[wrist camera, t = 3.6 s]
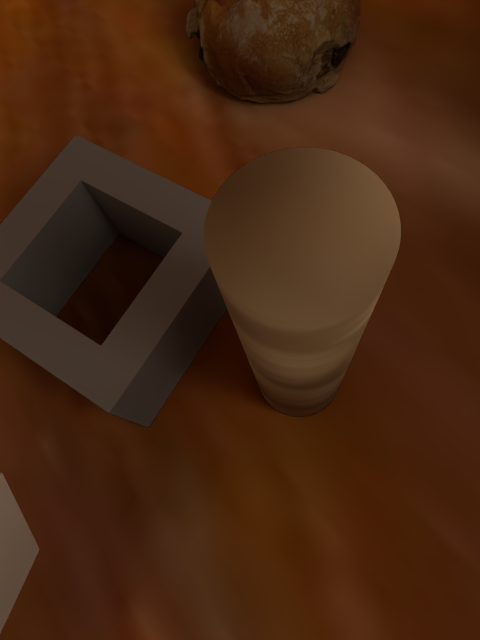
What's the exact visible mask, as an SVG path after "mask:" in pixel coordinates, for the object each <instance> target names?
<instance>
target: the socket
mask: <svg viewBox="0 0 480 640" xmlns="http://www.w3.org/2000/svg"><path fill="white" fill-rule="evenodd" d="M211 202H212V200H209V199H207V198H205V197H203V196H201V195H199V194H197V193H195V192H193V191H191V190H189V189H187V188H185V187H183V186H181V185H179V184H176V183H174V182H172V181H170V180H168V179H166V178H164V177H162V176H160V175H158V174H156V173H154V172H152V171H150V170H148V169H145V168H143V167H141V166H139V165H137V164H135V163H133V162H131V161H129V160H127V159H125V158H123V157H121V156H119V155H117V154H115V153H112V152H110V151H108V150H106V149H104V148H102V147H100V146H98V145H96V144H94V143H92V142H90V141H88V140H86V139H84V138H82V137H79V136H77V135H75V136H74V137H73V138H72V140H71V141H70V142H69V143H68V144H67V146H66V147H65V148H64V149H63V150H62V152H61V153H60V154H59V155H58V156H57V158H56V159H55V160H54V161H53V162H52V163H51V165H50V166H49V167H48V168H47V169H46V171H45V172H44V173H43V174H42V175H41V177H40V178H39V179H38V180H37V181H36V183H35V184H34V185H33V186H32V187H31V188H30V190H29V191H28V192H27V193H26V194H25V196H24V197H23V198H22V199H21V200H20V202H19V203H18V204H17V205H16V206H15V207H14V209H13V210H12V211H11V212H10V213H9V215H8V216H7V217H6V218H5V219H4V221H3V222H2V223H1V224H0V338H1V339H2V340H4V341H5V342H6V343H8V344H9V345H11V346H12V347H14V348H15V349H17V350H18V351H20V352H21V353H22V354H24V355H25V356H27V357H28V358H30V359H31V360H33V361H34V362H35V363H37V364H38V365H40V366H41V367H43V368H44V369H46V370H47V371H48V372H50V373H51V374H53V375H54V376H56V377H57V378H59V379H60V380H61V381H63V382H64V383H66V384H67V385H69V386H70V387H72V388H73V389H75V390H76V391H77V392H79V393H80V394H82V395H83V396H85V397H86V398H88V399H89V400H90V401H92V402H93V403H95V404H96V405H98V406H99V407H101V408H102V409H103V410H105V411H106V412H108V413H109V414H112V415H115V416H118V417H120V418H123V419H126V420H129V421H131V422H134V423H137V424H140V425H142V426H145V427H148V428H149V426H150V424H151V423H152V421H153V420H154V418H155V417H156V415H157V414H158V412H159V411H160V409H161V408H162V406H163V405H164V403H165V402H166V400H167V399H168V397H169V396H170V394H171V393H172V391H173V390H174V388H175V387H176V385H177V384H178V382H179V381H180V379H181V378H182V376H183V375H184V373H185V372H186V370H187V369H188V367H189V365H190V364H191V362H192V361H193V359H194V358H195V356H196V355H197V353H198V352H199V350H200V349H201V347H202V346H203V344H204V343H205V341H206V340H207V338H208V337H209V335H210V334H211V332H212V331H213V329H214V328H215V326H216V325H217V323H218V322H219V320H220V319H221V317H222V316H223V314H224V313H225V311H226V310H227V307H226V304H225V302H224V299H223V297H222V294H221V292H220V289H219V287H218V284H217V282H216V280H215V277H214V275H213V272H212V270H211V267H210V265H209V262H208V259H207V256H206V252H205V246H204V225H205V218H206V215H207V212H208V208H209V206H210V204H211ZM119 234H121V235H123V236H125V237H126V238H128V239H130V240H132V241H134V242H136V243H137V244H139V245H141V246H143V247H145V248H147V249H148V250H150V251H152V252H154V253H156V254H158V255H159V256H161V257H163V258H164V259H163V261H162V262H161V263H160V265H159V266H158V267H157V269H156V270H155V272H154V273H153V274H152V276H151V277H150V279H149V280H148V281H147V283H146V284H145V286H144V287H143V288H142V290H141V291H140V292H139V294H138V295H137V297H136V298H135V299H134V301H133V302H132V304H131V305H130V306H129V308H128V309H127V310H126V312H125V313H124V315H123V316H122V317H121V319H120V320H119V322H118V323H117V324H116V326H115V327H114V329H113V330H112V331H111V333H110V334H109V335H108V337H107V338H106V340H105V341H104V342H103V344H102V345H101V346H100V345H99V344H97V343H96V342H94V341H93V340H91V339H90V338H88V337H86V336H85V335H83V334H82V333H80V332H79V331H77V330H76V329H74V328H72V327H71V326H69V325H68V324H66V323H65V322H63V321H62V320H60V319H58V318H57V315H58V314H59V313H60V311H61V310H62V309H63V307H64V306H65V305H66V303H67V302H68V301H69V299H70V298H71V297H72V295H73V294H74V293H75V292H76V290H77V289H78V288H79V286H80V285H81V284H82V282H83V281H84V280H85V278H86V277H87V276H88V274H89V273H90V272H91V270H92V269H93V268H94V267H95V265H96V264H97V263H98V261H99V260H100V259H101V257H102V256H103V255H104V253H105V252H106V251H107V249H108V248H109V247H110V245H111V244H112V243H113V242H114V240H115V239H116V238H117V236H118V235H119Z"/></svg>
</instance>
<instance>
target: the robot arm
mask: <svg viewBox="0 0 480 640" xmlns="http://www.w3.org/2000/svg"><path fill="white" fill-rule="evenodd" d="M39 550H40V549H39V547H38V545H37V543H36V541H35V539H34V537H33V535H32V533H31V531H30V529H29V527H28V525H27V523H26V521H25V519H24V516H23V514H22V512H21V510H20V508H19V506H18V504H17V502H16V500H15V498H14V496H13V494H12V492H11V490H10V488H9V486H8V484H7V482H6V480H5V478H4V476H3V474H2V473H0V633H1V631H2V629H3V627H4V625H5V622H6V620H7V618H8V616H9V614H10V612H11V610H12V607H13V605H14V603H15V601H16V599H17V597H18V595H19V592H20V590H21V588H22V586H23V584H24V582H25V580H26V577H27V575H28V573H29V571H30V569H31V567H32V565H33V562H34V560H35V558H36V556H37V554H38V552H39Z"/></svg>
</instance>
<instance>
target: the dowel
mask: <svg viewBox="0 0 480 640" xmlns="http://www.w3.org/2000/svg"><path fill="white" fill-rule="evenodd" d="M400 239H401V222H400V216H399V212H398V209H397V206H396V202H395V200H394V198H393V196H392V194H391V192H390V191H389V189H388V188H387V187H386V185H385V184H384V182H383V181H382V180H381V179H380V178H379V177H378V176H377V175H376V174H375V173H374V172H373V171H372V170H370V169H369V168H368V167H367V166H365V165H364V164H362V163H360V162H359V161H357V160H355V159H353V158H351V157H349V156H347V155H344V154H342V153H339V152H336V151H332V150H327V149H322V148H313V147H297V148H287V149H282V150H278V151H274V152H271V153H268V154H265V155H262V156H260V157H258V158H256V159H253V160H252V161H250V162H248V163H247V164H245V165H243V166H242V167H241V168H239V169H238V170H237V171H235V172H234V173H233V174H232V175H231V176H230V177H229V178H228V179H227V180H226V181H225V182H224V183H223V185H222V186H221V187H220V188H219V190H218V191H217V193H216V194H215V196H214V198H213V199H212V202H211V204H210V206H209V208H208V212H207V215H206V218H205V225H204V246H205V252H206V256H207V259H208V262H209V265H210V267H211V270H212V272H213V275H214V277H215V280H216V282H217V284H218V287H219V289H220V292H221V294H222V297H223V299H224V302H225V304H226V307H227V309H228V312H229V314H230V317H231V319H232V322H233V324H234V326H235V329H236V331H237V334H238V336H239V339H240V341H241V344H242V346H243V349H244V351H245V354H246V356H247V359H248V361H249V364H250V366H251V368H252V371H253V373H254V376H255V378H256V381H257V383H258V386H259V388H260V391H261V393H262V395H263V397H264V398H265V400H266V401H267V402H268V403H269V405H271V406H272V407H273V408H274V409H276V410H277V411H279V412H281V413H282V414H285V415H288V416H293V417H306V416H311V415H314V414H316V413H318V412H320V411H322V410H323V409H325V408H326V407H327V406H328V405H329V404H330V403H331V402H332V400H333V399H334V397H335V395H336V393H337V391H338V389H339V387H340V384H341V382H342V380H343V378H344V375H345V373H346V371H347V368H348V366H349V364H350V362H351V359H352V357H353V355H354V353H355V350H356V348H357V346H358V344H359V341H360V339H361V337H362V334H363V332H364V330H365V328H366V325H367V323H368V321H369V319H370V316H371V314H372V312H373V310H374V307H375V305H376V303H377V300H378V298H379V296H380V294H381V291H382V289H383V287H384V285H385V282H386V280H387V278H388V276H389V273H390V271H391V269H392V266H393V264H394V262H395V260H396V257H397V253H398V250H399V246H400Z"/></svg>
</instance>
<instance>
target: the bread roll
mask: <svg viewBox="0 0 480 640" xmlns="http://www.w3.org/2000/svg"><path fill="white" fill-rule="evenodd" d="M186 22H187V23H186V29H185V30H186V33H187V35H188V38H189V39H191V37H195V35H196V36H197V37H198V38H199V40H200V41H201V48H200V51H199V57H200V59H201V60H202V61H203V62H204V63H206V66H207V70H208V73H209V74H210V76H211V78H212V79H213V80H214V81H215V82H217V85H218V86H221V87H222V88H223V89H225V90H227V91H228V92H229V93H231V94H232V95H234V96H235V97H237V98H239V99H241V100H245V99H246V100H250V101H254V102H257V103H261V104H262V103H267V102H289V101H294V100H297V99H301V98H304V97H305V96H307V95H309V94H310V93H311V92H320V93H321V94H322V93H323V92H325V91H327V90H328V89H329V88H331V87H332V86H334V84H335V83H336V81H337V80H338V78H339V77H340V76H339V75H337V74H336V73H337V72H338V71H339V69H340V68H341V66H342V65H343V63H344V61H345V59H346V58H347V56H348V54H349V51H350V49H351V47H352V46H353V45H354V43H355V38H356V34H357V30H358V26H359V22H360V0H195V6H194V8H193V9H192V10H191V11H189V13H188V16H187V18H186Z"/></svg>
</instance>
